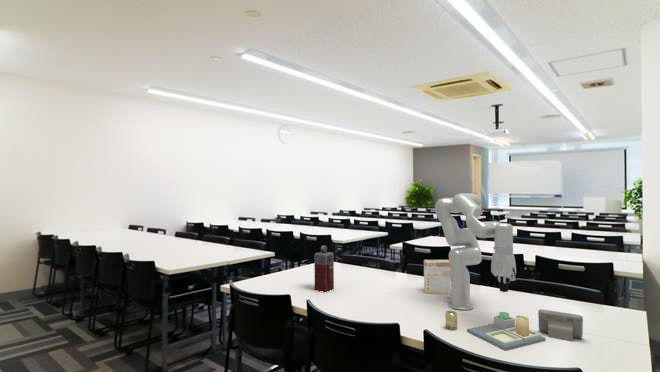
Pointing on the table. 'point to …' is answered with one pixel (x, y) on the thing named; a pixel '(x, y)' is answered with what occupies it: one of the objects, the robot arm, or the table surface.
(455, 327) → the cylinder
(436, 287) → the coffeecake box
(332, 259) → the square decanter bottle
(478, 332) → the station
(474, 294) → the table surface
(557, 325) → the digital clock
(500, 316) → the button
